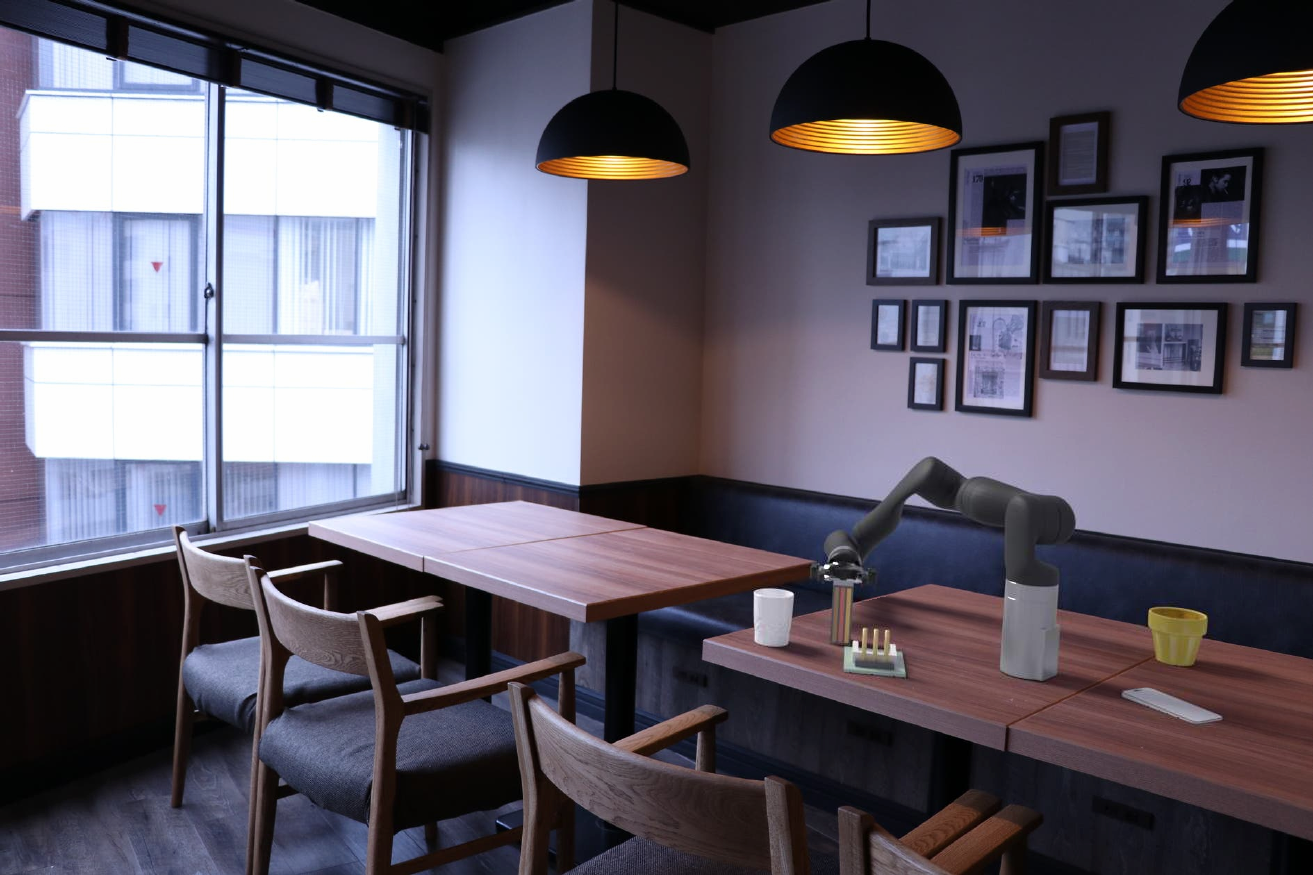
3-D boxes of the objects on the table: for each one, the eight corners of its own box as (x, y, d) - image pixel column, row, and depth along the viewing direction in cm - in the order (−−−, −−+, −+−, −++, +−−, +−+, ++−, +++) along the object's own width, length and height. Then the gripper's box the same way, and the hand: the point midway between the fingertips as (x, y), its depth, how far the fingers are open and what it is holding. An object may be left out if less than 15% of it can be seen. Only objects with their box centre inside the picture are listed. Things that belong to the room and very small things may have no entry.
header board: (844, 649, 203) (846, 611, 203) (901, 654, 201) (904, 616, 201) (843, 671, 189) (845, 630, 188) (905, 677, 187) (908, 636, 186)
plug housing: (830, 637, 212) (833, 579, 211) (850, 639, 211) (853, 581, 210) (829, 643, 207) (833, 584, 206) (850, 645, 206) (853, 586, 205)
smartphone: (1195, 722, 168) (1119, 691, 181) (1194, 729, 168) (1118, 697, 181) (1225, 717, 171) (1148, 686, 184) (1225, 723, 171) (1147, 692, 185)
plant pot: (1143, 663, 202) (1147, 614, 201) (1146, 650, 211) (1150, 603, 210) (1203, 672, 197) (1208, 622, 196) (1203, 659, 206) (1207, 611, 206)
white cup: (778, 650, 201) (781, 599, 200) (744, 642, 206) (746, 592, 205) (798, 642, 207) (801, 593, 206) (764, 634, 212) (767, 586, 211)
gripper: (813, 545, 236) (810, 560, 221) (877, 550, 234) (878, 565, 218) (811, 578, 237) (808, 594, 221) (875, 583, 234) (876, 600, 219)
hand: (843, 580), depth 220 cm, fingers open, 8 cm apart
